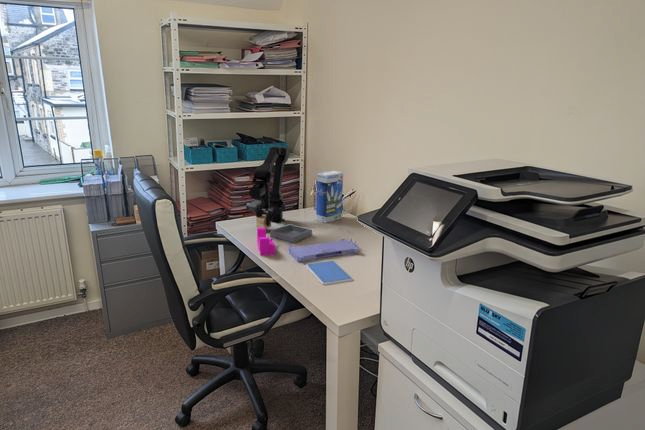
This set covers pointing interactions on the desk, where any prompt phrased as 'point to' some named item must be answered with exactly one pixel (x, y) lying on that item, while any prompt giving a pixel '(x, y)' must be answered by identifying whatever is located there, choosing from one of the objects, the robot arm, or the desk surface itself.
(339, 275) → the blue book
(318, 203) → the string lights box
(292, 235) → the tray
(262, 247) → the toy block
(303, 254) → the lavender slotted plate
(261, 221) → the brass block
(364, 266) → the desk surface
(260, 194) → the robot arm
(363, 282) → the desk surface
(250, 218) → the desk surface
